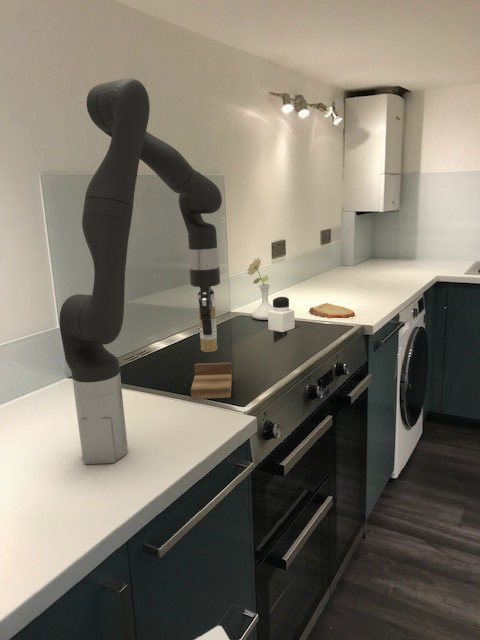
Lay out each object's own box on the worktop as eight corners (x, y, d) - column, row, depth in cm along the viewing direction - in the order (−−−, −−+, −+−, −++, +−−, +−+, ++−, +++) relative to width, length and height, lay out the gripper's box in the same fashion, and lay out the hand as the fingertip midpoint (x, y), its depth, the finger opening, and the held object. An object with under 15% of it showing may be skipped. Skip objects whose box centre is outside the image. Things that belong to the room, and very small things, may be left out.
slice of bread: (357, 319, 212) (357, 310, 211) (310, 320, 214) (310, 311, 213) (351, 309, 230) (351, 300, 229) (308, 310, 231) (308, 302, 230)
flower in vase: (268, 313, 227) (266, 254, 221) (285, 318, 218) (283, 256, 212) (242, 319, 220) (240, 257, 214) (259, 324, 211) (256, 260, 205)
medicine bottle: (294, 328, 202) (294, 296, 199) (283, 332, 197) (282, 300, 194) (280, 325, 207) (279, 294, 204) (268, 329, 202) (266, 298, 199)
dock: (230, 397, 138) (229, 377, 137) (191, 399, 139) (190, 378, 137) (231, 381, 150) (230, 362, 149) (195, 382, 150) (194, 363, 149)
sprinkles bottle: (200, 347, 143) (197, 297, 139) (217, 346, 143) (214, 296, 140) (200, 353, 138) (197, 301, 135) (218, 351, 138) (215, 300, 135)
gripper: (217, 269, 128) (221, 339, 132) (220, 261, 142) (224, 324, 146) (186, 271, 129) (191, 340, 133) (192, 263, 142) (196, 325, 146)
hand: (208, 331), depth 139 cm, fingers closed on sprinkles bottle, 4 cm apart
